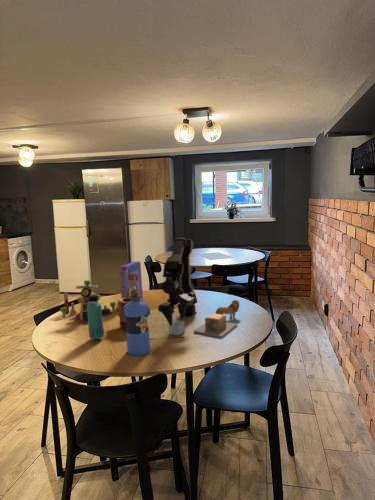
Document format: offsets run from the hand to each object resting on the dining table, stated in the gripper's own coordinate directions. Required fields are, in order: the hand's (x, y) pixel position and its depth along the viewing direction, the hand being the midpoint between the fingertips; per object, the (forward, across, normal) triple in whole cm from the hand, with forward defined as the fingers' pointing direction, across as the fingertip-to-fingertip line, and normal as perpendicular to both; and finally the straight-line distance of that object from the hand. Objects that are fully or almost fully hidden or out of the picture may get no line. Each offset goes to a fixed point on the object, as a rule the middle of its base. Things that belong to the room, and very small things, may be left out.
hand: (176, 321), depth 154 cm
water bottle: (+5, -23, +3) cm, 24 cm away
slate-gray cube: (+5, 0, 0) cm, 5 cm away
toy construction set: (+6, -1, +60) cm, 60 cm away
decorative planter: (+5, -3, +23) cm, 24 cm away
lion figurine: (+6, +26, -13) cm, 29 cm away
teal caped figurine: (+5, -22, +28) cm, 36 cm away
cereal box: (+6, +27, +50) cm, 57 cm away
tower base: (+5, +11, -14) cm, 18 cm away
